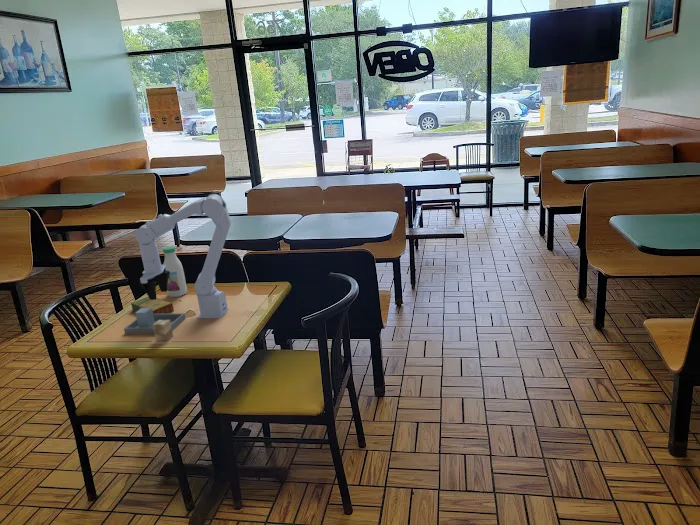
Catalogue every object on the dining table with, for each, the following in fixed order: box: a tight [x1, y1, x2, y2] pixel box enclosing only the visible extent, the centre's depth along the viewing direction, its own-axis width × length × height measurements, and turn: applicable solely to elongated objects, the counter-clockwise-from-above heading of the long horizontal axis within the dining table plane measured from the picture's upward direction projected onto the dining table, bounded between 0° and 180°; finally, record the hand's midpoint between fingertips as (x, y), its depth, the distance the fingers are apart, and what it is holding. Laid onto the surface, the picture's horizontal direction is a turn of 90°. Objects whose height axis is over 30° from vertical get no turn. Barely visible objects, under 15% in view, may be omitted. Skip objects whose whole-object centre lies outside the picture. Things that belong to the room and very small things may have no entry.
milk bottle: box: [162, 246, 188, 298], centre depth 212 cm, size 8×8×20 cm
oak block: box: [153, 320, 174, 342], centre depth 172 cm, size 4×4×6 cm
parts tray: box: [123, 312, 186, 335], centre depth 183 cm, size 16×12×2 cm
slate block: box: [135, 308, 155, 328], centre depth 183 cm, size 4×4×6 cm
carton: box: [130, 296, 175, 314], centre depth 198 cm, size 8×16×4 cm, turn 51°
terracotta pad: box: [150, 333, 180, 345], centre depth 173 cm, size 7×7×1 cm
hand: (158, 295), depth 186 cm, fingers open, 7 cm apart
